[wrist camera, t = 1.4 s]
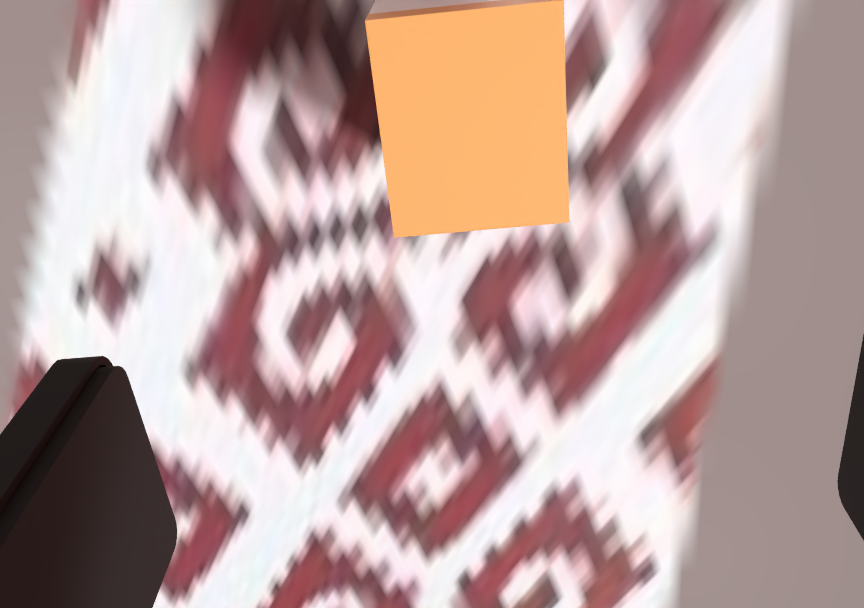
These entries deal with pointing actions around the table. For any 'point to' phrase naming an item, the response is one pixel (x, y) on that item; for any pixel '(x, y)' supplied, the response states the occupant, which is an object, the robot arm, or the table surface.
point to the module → (471, 112)
